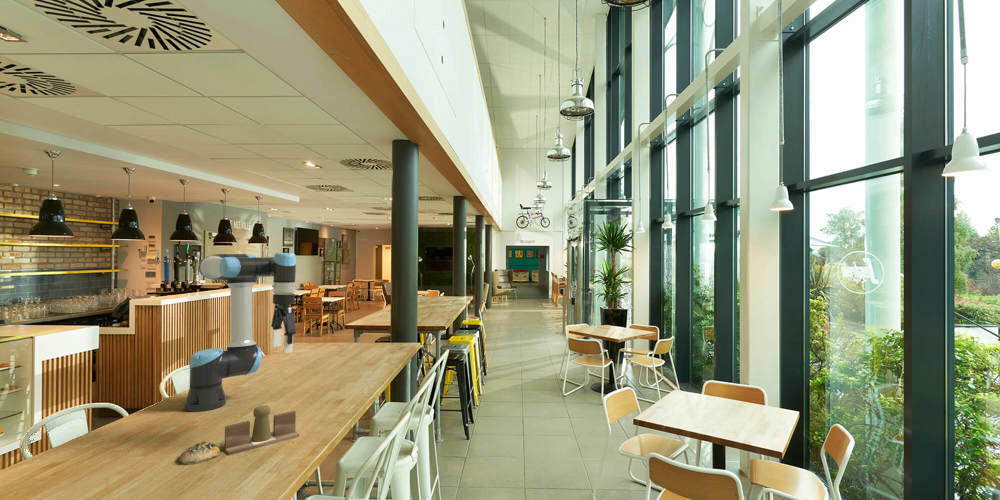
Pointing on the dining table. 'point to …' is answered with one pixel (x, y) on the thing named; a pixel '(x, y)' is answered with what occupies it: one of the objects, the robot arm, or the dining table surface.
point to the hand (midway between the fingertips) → (282, 349)
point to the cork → (261, 424)
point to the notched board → (241, 440)
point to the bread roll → (199, 453)
